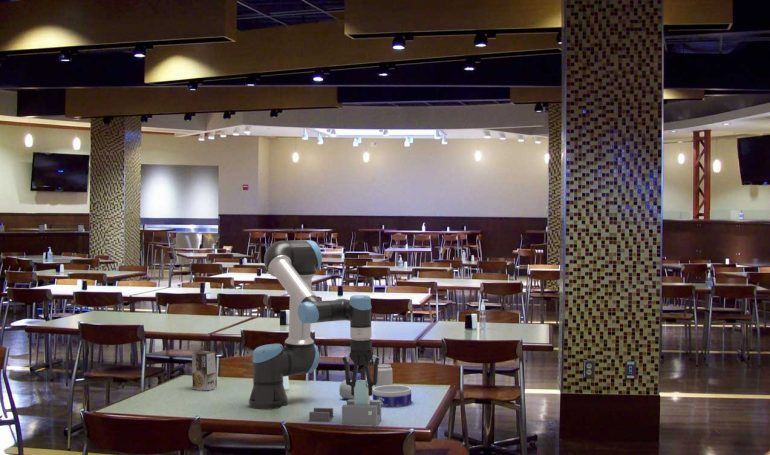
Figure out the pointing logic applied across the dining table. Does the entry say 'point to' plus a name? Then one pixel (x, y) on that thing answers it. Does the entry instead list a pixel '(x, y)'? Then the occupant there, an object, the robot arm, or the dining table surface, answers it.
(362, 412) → the port
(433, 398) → the dining table surface
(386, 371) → the can
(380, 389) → the dog bowl
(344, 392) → the ceramic mug
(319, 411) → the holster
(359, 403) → the plug
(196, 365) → the coffee box
